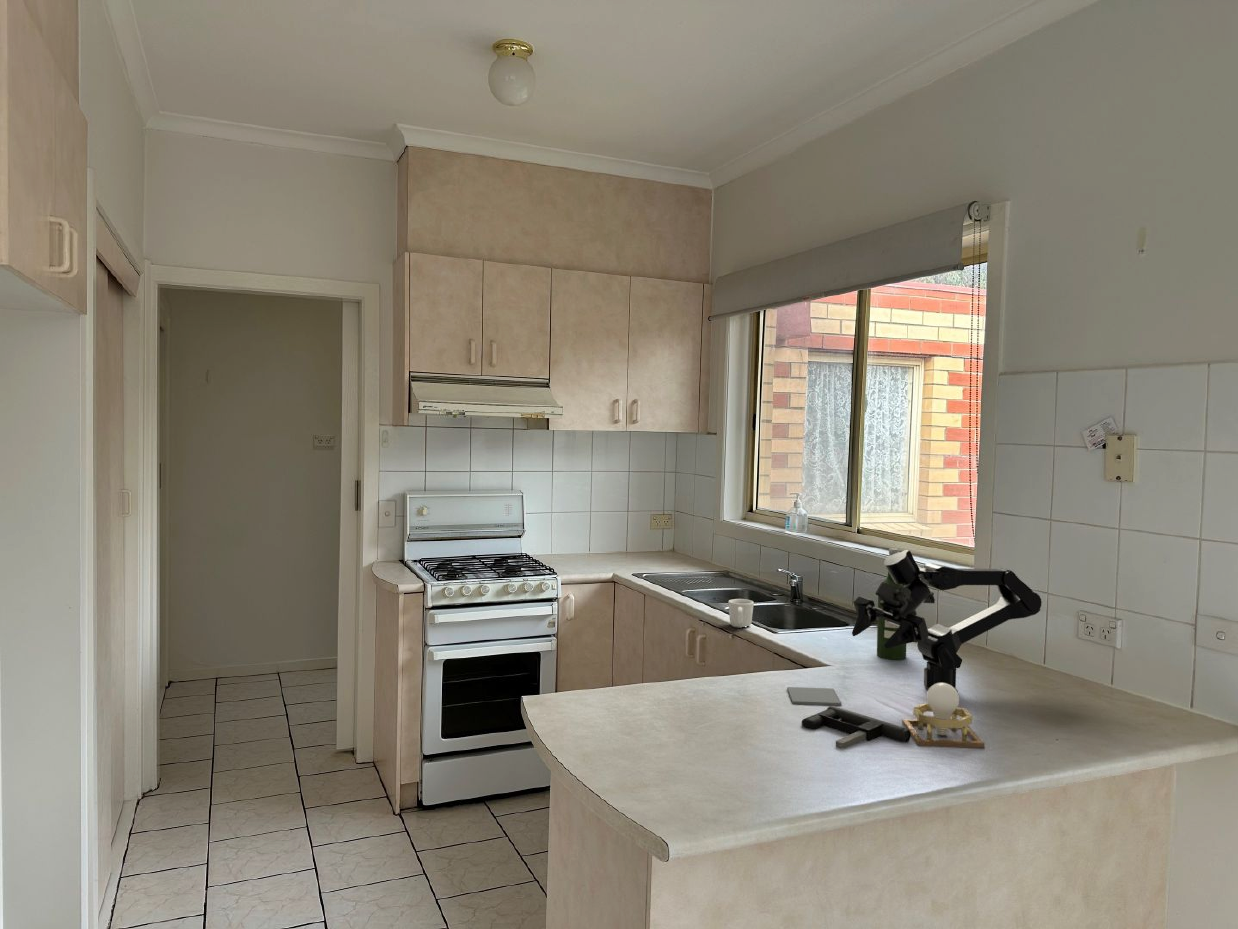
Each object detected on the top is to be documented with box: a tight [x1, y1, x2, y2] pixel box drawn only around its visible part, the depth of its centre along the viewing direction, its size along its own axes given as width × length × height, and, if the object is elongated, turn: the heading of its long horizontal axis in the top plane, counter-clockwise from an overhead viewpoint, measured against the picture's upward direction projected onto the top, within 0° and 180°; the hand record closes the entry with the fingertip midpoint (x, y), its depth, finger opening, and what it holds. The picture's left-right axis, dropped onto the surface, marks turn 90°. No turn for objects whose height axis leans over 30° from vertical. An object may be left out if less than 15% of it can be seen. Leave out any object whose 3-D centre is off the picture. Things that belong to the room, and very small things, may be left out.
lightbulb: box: [926, 683, 960, 737], centre depth 182 cm, size 6×6×11 cm
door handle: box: [801, 705, 912, 750], centre depth 182 cm, size 3×20×16 cm
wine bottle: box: [876, 548, 907, 661], centre depth 244 cm, size 8×8×30 cm
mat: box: [787, 686, 842, 706], centre depth 207 cm, size 11×11×1 cm
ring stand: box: [901, 702, 986, 749], centre depth 182 cm, size 13×13×5 cm
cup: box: [728, 598, 755, 629], centre depth 277 cm, size 11×8×8 cm
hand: (868, 640), depth 204 cm, fingers open, 9 cm apart
